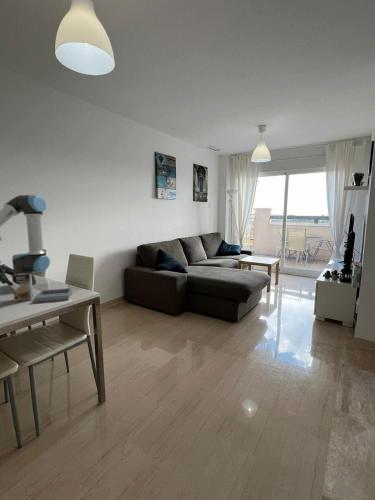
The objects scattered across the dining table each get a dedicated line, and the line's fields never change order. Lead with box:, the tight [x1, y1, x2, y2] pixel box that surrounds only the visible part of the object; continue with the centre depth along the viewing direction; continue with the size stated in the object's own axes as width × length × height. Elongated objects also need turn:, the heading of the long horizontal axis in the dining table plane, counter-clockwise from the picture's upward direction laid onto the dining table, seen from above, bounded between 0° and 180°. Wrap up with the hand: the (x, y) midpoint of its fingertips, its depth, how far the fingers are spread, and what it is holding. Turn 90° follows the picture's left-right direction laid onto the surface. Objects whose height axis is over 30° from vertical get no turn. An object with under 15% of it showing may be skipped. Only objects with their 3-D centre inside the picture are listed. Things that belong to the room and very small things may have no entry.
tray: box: [33, 287, 73, 304], centre depth 159 cm, size 16×18×3 cm
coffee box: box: [11, 273, 34, 303], centre depth 155 cm, size 9×6×16 cm
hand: (21, 285), depth 154 cm, fingers open, 13 cm apart
